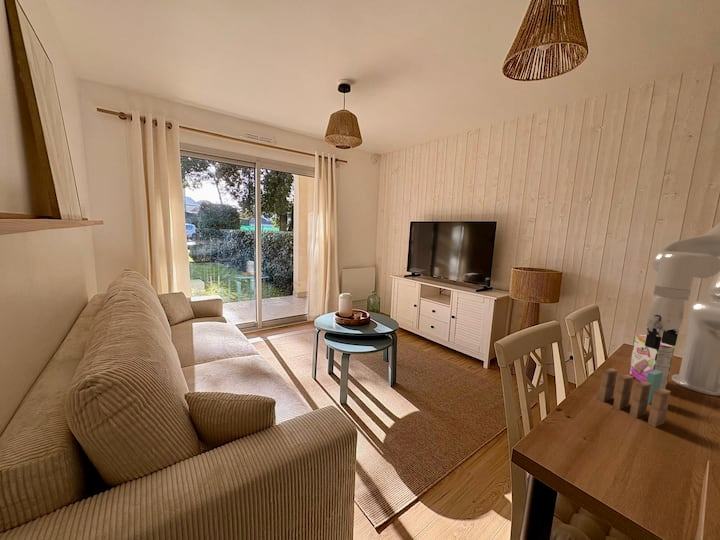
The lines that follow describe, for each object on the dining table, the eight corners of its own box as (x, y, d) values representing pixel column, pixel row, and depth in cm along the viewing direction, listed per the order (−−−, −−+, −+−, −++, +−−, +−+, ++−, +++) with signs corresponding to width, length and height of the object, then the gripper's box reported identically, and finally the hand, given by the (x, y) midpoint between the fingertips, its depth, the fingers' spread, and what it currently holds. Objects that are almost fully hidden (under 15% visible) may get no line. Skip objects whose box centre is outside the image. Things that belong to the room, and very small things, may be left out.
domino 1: (606, 395, 96) (611, 368, 94) (612, 398, 94) (617, 370, 93) (597, 398, 94) (602, 370, 92) (603, 401, 92) (608, 372, 91)
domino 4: (656, 419, 84) (663, 388, 83) (664, 423, 83) (670, 391, 81) (647, 423, 82) (653, 391, 81) (654, 427, 81) (661, 394, 79)
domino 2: (622, 403, 92) (627, 374, 90) (628, 406, 90) (633, 376, 89) (612, 406, 90) (618, 376, 88) (619, 409, 89) (624, 379, 87)
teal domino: (650, 397, 95) (656, 369, 94) (657, 400, 94) (662, 372, 92) (642, 401, 93) (647, 372, 92) (648, 403, 92) (654, 374, 90)
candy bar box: (627, 373, 111) (634, 333, 109) (642, 375, 110) (650, 334, 108) (649, 389, 100) (658, 345, 98) (666, 391, 99) (675, 347, 97)
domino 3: (638, 411, 88) (644, 380, 86) (645, 414, 87) (651, 383, 85) (629, 414, 86) (635, 383, 85) (636, 418, 85) (642, 386, 83)
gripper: (669, 289, 95) (658, 338, 97) (640, 291, 88) (629, 344, 91) (702, 294, 88) (690, 347, 90) (673, 297, 81) (661, 354, 84)
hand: (660, 345), depth 91 cm, fingers open, 9 cm apart
